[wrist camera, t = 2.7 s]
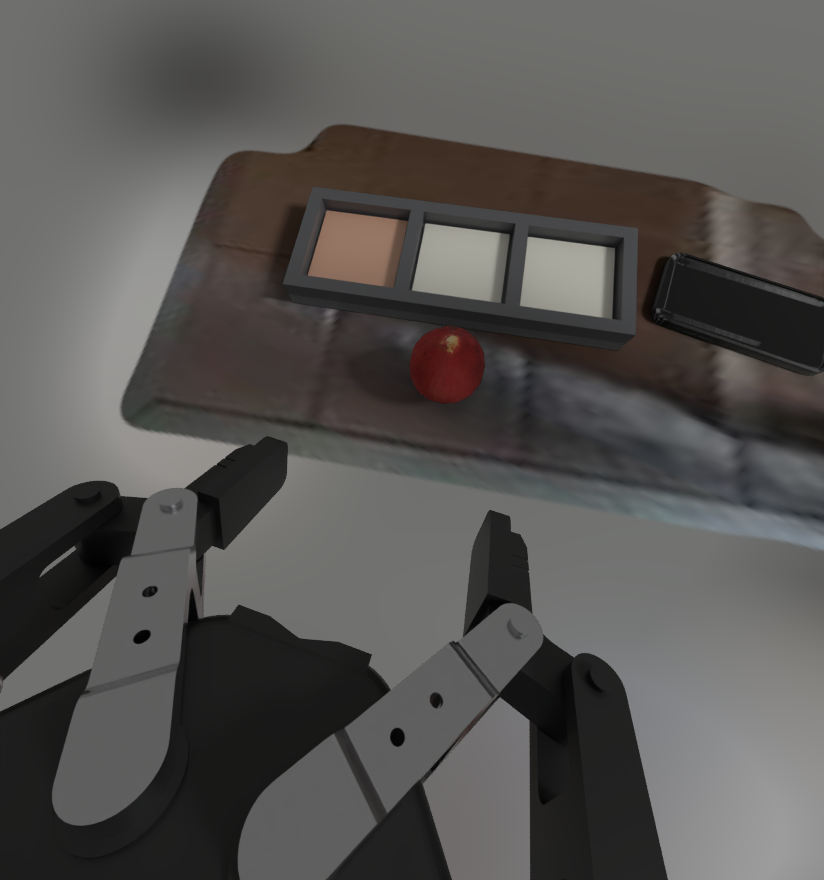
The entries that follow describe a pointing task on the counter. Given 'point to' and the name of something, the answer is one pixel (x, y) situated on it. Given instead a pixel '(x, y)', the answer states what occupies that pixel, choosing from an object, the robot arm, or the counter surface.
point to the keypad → (484, 271)
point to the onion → (447, 364)
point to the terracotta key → (359, 249)
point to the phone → (742, 313)
